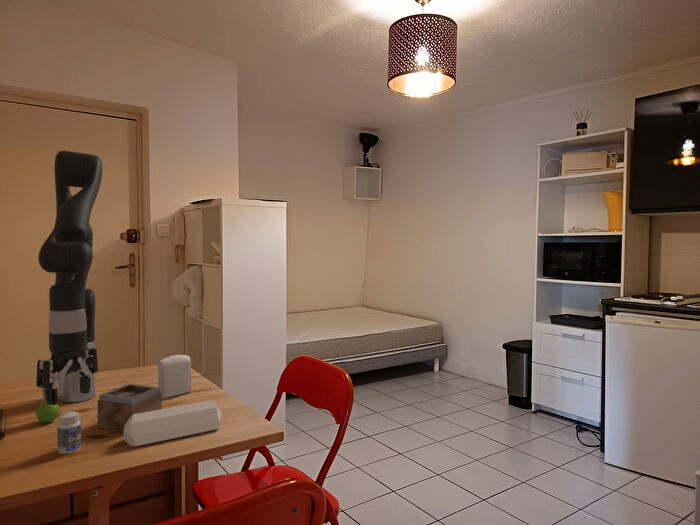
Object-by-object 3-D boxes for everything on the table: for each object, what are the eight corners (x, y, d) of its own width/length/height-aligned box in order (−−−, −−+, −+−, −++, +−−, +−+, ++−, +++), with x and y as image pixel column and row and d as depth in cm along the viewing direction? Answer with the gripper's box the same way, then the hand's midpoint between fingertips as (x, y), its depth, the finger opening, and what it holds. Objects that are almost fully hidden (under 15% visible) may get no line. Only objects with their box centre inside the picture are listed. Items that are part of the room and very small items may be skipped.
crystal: (215, 404, 134) (119, 421, 121) (222, 398, 128) (123, 415, 115) (219, 431, 131) (122, 452, 118) (227, 426, 126) (126, 447, 112)
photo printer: (162, 400, 147) (162, 359, 147) (156, 396, 150) (155, 357, 150) (193, 392, 155) (193, 354, 154) (186, 389, 158) (186, 351, 157)
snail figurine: (56, 415, 134) (55, 372, 133) (62, 422, 129) (61, 377, 128) (33, 420, 130) (32, 376, 129) (38, 427, 125) (37, 381, 125)
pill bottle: (70, 455, 110) (69, 419, 110) (52, 453, 111) (52, 417, 110) (85, 446, 115) (85, 411, 114) (68, 444, 116) (68, 410, 115)
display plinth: (97, 427, 126) (97, 395, 126) (129, 412, 136) (129, 383, 136) (132, 433, 123) (131, 400, 122) (161, 418, 133) (161, 387, 132)
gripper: (81, 322, 119) (82, 388, 120) (26, 333, 106) (28, 406, 106) (105, 324, 117) (106, 391, 118) (52, 335, 103) (54, 410, 104)
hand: (69, 398), depth 112 cm, fingers open, 8 cm apart
